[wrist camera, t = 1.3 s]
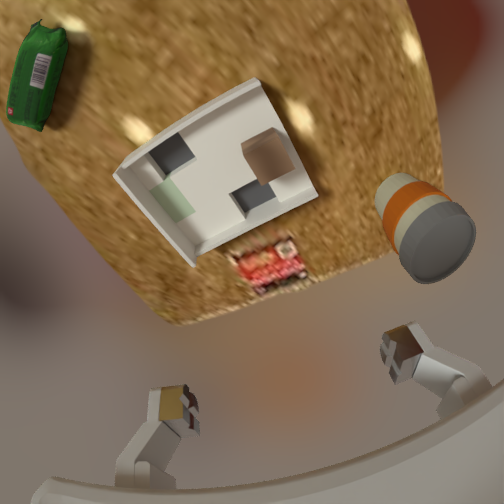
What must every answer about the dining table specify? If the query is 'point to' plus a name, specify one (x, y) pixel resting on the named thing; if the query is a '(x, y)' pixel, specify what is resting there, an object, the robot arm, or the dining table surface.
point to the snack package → (36, 76)
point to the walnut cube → (267, 156)
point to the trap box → (212, 174)
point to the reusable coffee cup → (424, 227)
